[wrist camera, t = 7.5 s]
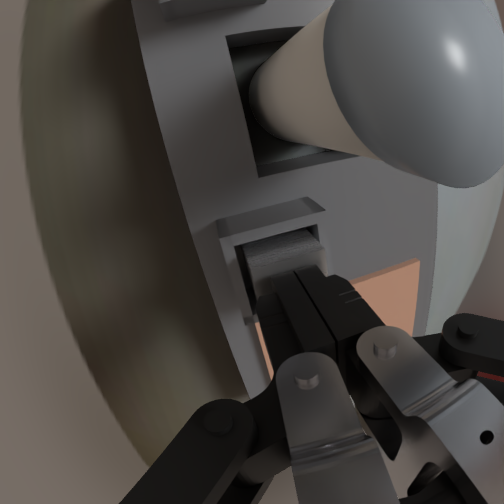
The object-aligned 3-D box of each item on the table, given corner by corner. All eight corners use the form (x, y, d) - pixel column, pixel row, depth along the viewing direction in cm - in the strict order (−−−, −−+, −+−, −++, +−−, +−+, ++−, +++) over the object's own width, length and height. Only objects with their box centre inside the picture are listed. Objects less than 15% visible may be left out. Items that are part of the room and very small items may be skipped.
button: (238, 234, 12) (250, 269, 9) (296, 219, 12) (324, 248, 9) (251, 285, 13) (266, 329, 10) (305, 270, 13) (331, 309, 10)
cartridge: (235, 60, 12) (316, -59, 3) (328, 47, 12) (491, -14, 3) (260, 154, 14) (384, 213, 4) (348, 134, 14) (525, 170, 5)
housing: (134, -18, 9) (113, -62, 5) (363, -38, 10) (408, -67, 6) (250, 386, 20) (262, 439, 16) (403, 333, 20) (435, 372, 16)
